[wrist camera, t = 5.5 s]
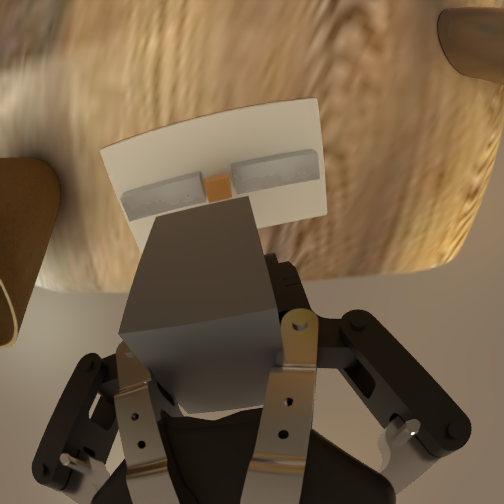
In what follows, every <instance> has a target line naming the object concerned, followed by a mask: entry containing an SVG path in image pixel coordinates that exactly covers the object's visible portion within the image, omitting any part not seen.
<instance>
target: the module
mask: <svg viewBox="0 0 504 504" xmlns="http://www.w3.org/2000/svg"><path fill="white" fill-rule="evenodd" d="M118 334H119V335H120V337H121V338H122V339H123V341H124V342H125V343H126V345H127V346H128V347H129V348H130V350H131V351H132V352H133V353H134V355H135V356H136V357H137V358H138V359H139V361H140V362H141V363H142V364H143V365H144V367H145V368H146V367H149V368H150V369H151V371H152V372H153V373H154V374H155V378H156V380H157V381H158V383H159V384H160V385H161V386H162V387H163V388H164V389H165V390H166V391H167V392H168V393H172V394H173V395H174V396H175V397H176V400H177V403H178V404H179V405H180V406H181V407H183V409H184V410H185V411H186V412H187V413H188V414H192V413H204V412H215V411H224V410H231V409H239V408H246V407H253V406H259V405H264V400H265V395H266V390H267V385H268V379H269V374H270V370H271V367H272V366H274V364H275V359H276V353H277V349H278V348H283V343H282V336H281V329H280V323H279V316H278V310H277V305H276V301H275V297H274V293H273V289H272V285H271V281H270V277H269V273H268V269H267V265H266V262H265V258H264V254H263V250H262V246H261V242H260V238H259V234H258V230H257V226H256V223H255V219H254V215H253V211H252V207H251V203H250V200H249V196H245V197H240V198H235V199H230V200H225V201H221V202H216V203H212V204H207V205H203V206H198V207H194V208H190V209H186V210H181V211H177V212H173V213H169V214H165V215H161V216H157V217H156V218H155V221H154V223H153V226H152V228H151V231H150V234H149V237H148V239H147V242H146V245H145V248H144V250H143V253H142V256H141V259H140V262H139V265H138V268H137V271H136V274H135V277H134V280H133V284H132V287H131V290H130V293H129V297H128V300H127V304H126V307H125V311H124V314H123V318H122V321H121V325H120V329H119V333H118Z"/></svg>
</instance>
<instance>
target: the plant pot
mask: <svg viewBox="0 0 504 504" xmlns="http://www.w3.org/2000/svg"><path fill="white" fill-rule="evenodd" d="M60 199H61V190H60V184H59V181H58V178H57V176H56V174H55V172H54V171H53V169H52V168H51V167H50V166H49V165H48V164H47V163H45V162H44V161H42V160H39V159H34V158H0V349H4V348H8V347H10V346H12V345H13V344H14V343H15V341H16V339H17V336H18V333H19V330H20V327H21V324H22V321H23V318H24V314H25V311H26V308H27V305H28V302H29V299H30V297H31V294H32V291H33V288H34V285H35V282H36V279H37V276H38V273H39V270H40V267H41V264H42V261H43V258H44V255H45V252H46V249H47V246H48V243H49V240H50V237H51V233H52V230H53V227H54V223H55V220H56V216H57V212H58V208H59V204H60Z"/></svg>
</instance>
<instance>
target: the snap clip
mask: <svg viewBox="0 0 504 504" xmlns="http://www.w3.org/2000/svg"><path fill="white" fill-rule="evenodd" d="M204 186H205V190H206V194H207V197H208V201H209V203H211V202H216V201H220V200H224V199H229V198H232V191H231V187H230V183H229V178H228V174H222V175H218V176H214V177H209V178H205V179H204Z"/></svg>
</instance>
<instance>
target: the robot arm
mask: <svg viewBox="0 0 504 504" xmlns="http://www.w3.org/2000/svg"><path fill="white" fill-rule="evenodd" d="M438 33H439V38H440V42H441V45H442V48H443V51H444V53H445V55H446V57H447V58H448V60H449V61H450V63H451V64H452V65H453V67H454V68H455V69H456V70H457V71H459V72H460V73H461V74H463V75H465V76H470V77H474V78H479V79H483V80H487V81H491V82H495V83H498V84H502V85H504V8H494V7H464V8H449V9H446V10H444V11H443V12H442V13H441V15H440V17H439V20H438ZM264 258H265V262H266V265H267V269H268V273H269V277H270V281H271V285H272V289H273V293H274V297H275V301H276V305H277V310H278V316H279V323H280V329H281V336H282V343H283V348H278V349H277V353H276V359H275V364H274V366H272V367H271V370H270V374H269V379H268V385H267V390H266V395H265V400H264V406H263V408H257V409H251V410H244V411H240V412H237V413H235V414H232V415H229V416H226V417H223V418H221V419H218V420H213V421H212V420H205V419H199V418H193V417H187V416H186V417H184V416H183V414H182V413H181V411H180V409H179V406H178V403H177V400H176V397H175V396H174V395H173V394H172V393H168V392H167V391H166V390H165V389H164V388H163V387H162V386H161V385H160V384H159V383H158V381H157V380H156V378H155V374H154V373H153V372H152V371H151V369H150V368H149V367H146V368H145V367H144V365H143V364H142V363H141V362H140V361H139V359H138V358H137V357H136V356H135V355H134V353H133V352H132V351H131V350H130V348H129V347H128V346H127V345H126V343H125V342H124V341H122V342H121V343H120V344H119V346H118V348H117V350H116V353H115V354H113V355H111V356H108V357H105V358H103V359H101V358H100V356H99V355H98V354H96V353H89V354H87V355H85V356H84V357H82V358H81V360H80V361H79V362H78V364H77V366H76V368H75V370H74V372H73V374H72V376H71V378H70V380H69V381H68V383H67V385H66V387H65V389H64V391H63V393H62V395H61V398H60V399H59V402H58V404H57V406H56V408H55V410H54V412H53V415H52V417H51V419H50V421H49V423H48V425H47V428H46V430H45V432H44V435H43V437H42V440H41V442H40V445H39V447H38V449H37V452H36V455H35V457H34V460H33V463H32V473H33V476H34V478H35V480H36V481H37V482H38V483H40V484H42V485H45V486H47V487H50V488H52V489H54V490H56V491H59V492H62V493H64V494H65V495H67V496H68V497H70V498H71V499H72V500H74V501H75V502H77V503H79V504H396V494H398V493H399V492H400V491H402V490H403V489H404V488H406V487H407V486H408V485H410V484H411V483H412V482H413V481H415V480H416V479H417V478H418V477H420V476H421V475H422V474H423V473H424V472H425V471H427V470H428V469H429V468H430V467H431V466H432V465H433V464H434V463H436V462H437V461H438V460H439V459H441V458H443V457H445V456H447V455H449V454H451V453H452V452H454V451H456V450H458V449H460V448H461V447H463V446H464V445H465V444H466V443H467V441H468V439H469V438H470V435H471V422H470V420H469V418H468V417H467V415H466V414H465V413H464V412H463V411H462V410H461V409H460V407H459V406H458V405H457V404H456V403H455V402H454V401H453V400H452V398H451V397H450V396H449V395H448V394H447V393H446V392H445V391H444V390H443V389H442V388H441V386H440V385H439V384H438V383H437V382H436V381H435V380H434V379H433V378H432V376H431V375H430V374H429V373H428V372H427V371H426V370H425V369H424V368H423V367H422V366H421V365H420V364H419V363H418V362H417V360H416V359H415V358H414V357H413V356H412V355H411V354H410V353H409V352H408V351H407V350H406V349H405V348H404V347H403V346H402V345H401V344H400V343H399V342H398V341H397V340H396V339H395V338H394V337H393V336H392V334H390V333H389V331H388V330H387V329H386V328H385V327H383V326H382V324H381V323H380V322H379V321H378V320H377V319H376V318H375V317H374V316H373V315H372V314H370V313H369V312H367V311H364V310H352V311H349V312H347V313H346V314H344V315H343V317H342V318H341V319H329V318H323V317H320V316H318V315H317V314H315V313H314V312H313V311H312V309H311V308H310V305H309V302H308V299H307V297H306V294H305V291H304V289H303V286H302V284H301V280H300V278H299V275H298V272H297V270H296V267H295V266H293V265H292V264H291V263H290V262H289V261H287V262H283V263H278V261H277V258H276V254H275V253H271V254H267V255H264ZM317 368H336V369H338V370H339V371H340V373H341V374H342V375H343V376H344V378H345V379H346V380H347V382H348V383H349V384H350V386H351V387H352V388H353V389H354V391H355V392H356V393H357V395H358V396H359V397H360V399H361V400H362V401H363V403H364V404H365V405H366V406H367V408H368V409H369V410H370V412H371V413H372V414H373V415H374V417H375V418H376V419H377V420H378V422H379V423H380V424H381V426H382V427H383V428H384V431H383V432H382V433H381V434H380V437H379V440H378V447H379V450H380V452H381V454H382V458H383V461H382V466H381V468H380V470H379V471H378V472H377V471H375V470H373V469H372V468H370V467H368V466H367V465H365V464H364V463H362V462H360V461H359V460H357V459H356V458H354V457H353V456H351V455H350V454H348V453H347V452H345V451H344V450H342V449H341V448H339V447H338V446H336V445H334V444H333V443H332V442H330V441H329V440H327V439H326V438H325V437H323V436H322V435H320V434H319V433H318V432H316V431H315V430H314V429H312V422H313V411H314V400H315V387H316V375H317ZM97 393H99V394H100V395H101V396H100V399H99V401H98V403H97V405H96V408H95V410H94V412H93V414H92V417H91V418H90V419H89V410H90V408H91V406H92V404H93V401H94V399H95V397H96V395H97ZM118 429H119V432H120V437H121V442H122V446H123V451H124V456H125V459H124V460H123V462H122V463H121V464H120V465H119V466H118V468H117V469H116V470H115V471H114V472H113V474H112V475H111V476H110V474H109V472H108V471H107V470H106V467H105V464H106V461H107V458H108V455H109V453H110V450H111V447H112V444H113V442H114V439H115V437H116V434H117V431H118Z"/></svg>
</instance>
